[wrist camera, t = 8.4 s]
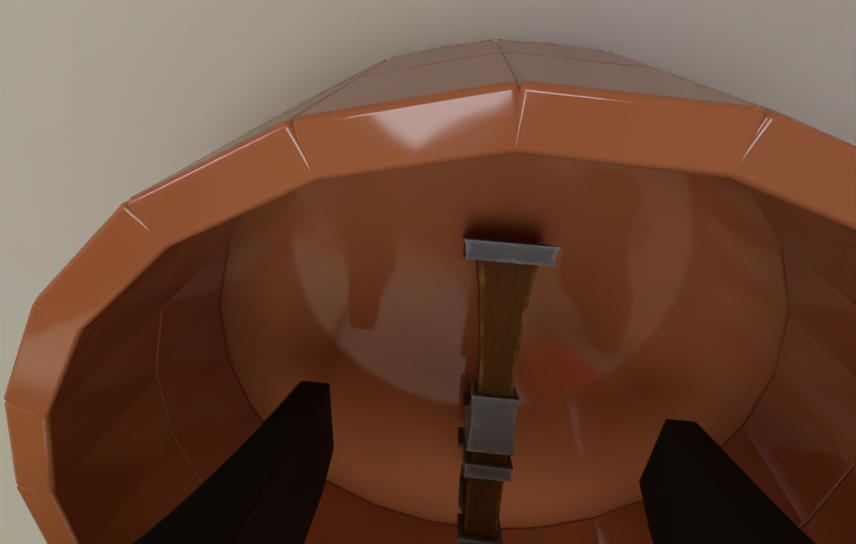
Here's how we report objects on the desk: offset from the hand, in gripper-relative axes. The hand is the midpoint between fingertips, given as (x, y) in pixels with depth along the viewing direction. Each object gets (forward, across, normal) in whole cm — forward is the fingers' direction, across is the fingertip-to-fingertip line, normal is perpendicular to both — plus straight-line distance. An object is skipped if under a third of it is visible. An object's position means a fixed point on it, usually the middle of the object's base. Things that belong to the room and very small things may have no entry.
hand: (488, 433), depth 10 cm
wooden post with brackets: (+2, 0, 0) cm, 3 cm away
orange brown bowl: (+3, 0, 0) cm, 3 cm away
